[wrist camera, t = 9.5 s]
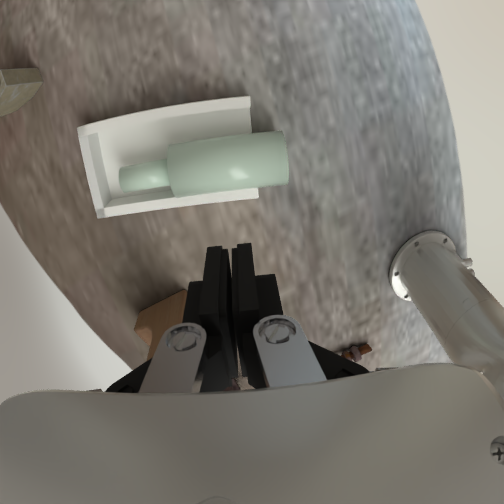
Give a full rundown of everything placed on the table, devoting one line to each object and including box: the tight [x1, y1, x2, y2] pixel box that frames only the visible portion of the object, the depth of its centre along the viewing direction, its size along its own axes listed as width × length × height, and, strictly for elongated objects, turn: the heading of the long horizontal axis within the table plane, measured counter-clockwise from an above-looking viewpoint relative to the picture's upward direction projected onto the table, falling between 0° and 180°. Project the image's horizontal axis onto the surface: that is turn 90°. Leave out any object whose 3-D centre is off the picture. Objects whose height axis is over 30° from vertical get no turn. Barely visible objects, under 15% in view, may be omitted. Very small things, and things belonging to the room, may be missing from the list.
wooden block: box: [134, 290, 187, 361], centre depth 39 cm, size 9×4×18 cm, turn 119°
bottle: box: [119, 131, 289, 198], centre depth 34 cm, size 6×6×18 cm
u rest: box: [77, 96, 259, 218], centre depth 34 cm, size 20×11×3 cm, turn 95°
